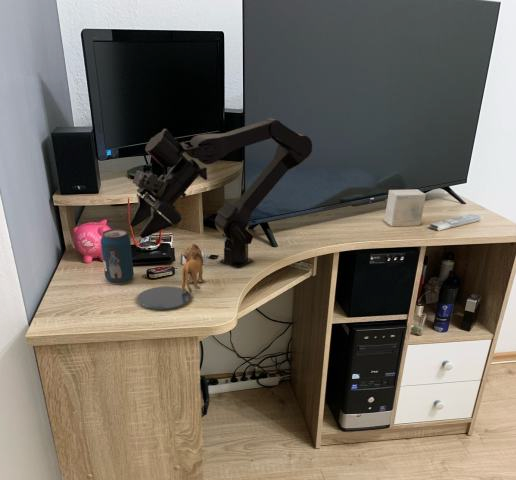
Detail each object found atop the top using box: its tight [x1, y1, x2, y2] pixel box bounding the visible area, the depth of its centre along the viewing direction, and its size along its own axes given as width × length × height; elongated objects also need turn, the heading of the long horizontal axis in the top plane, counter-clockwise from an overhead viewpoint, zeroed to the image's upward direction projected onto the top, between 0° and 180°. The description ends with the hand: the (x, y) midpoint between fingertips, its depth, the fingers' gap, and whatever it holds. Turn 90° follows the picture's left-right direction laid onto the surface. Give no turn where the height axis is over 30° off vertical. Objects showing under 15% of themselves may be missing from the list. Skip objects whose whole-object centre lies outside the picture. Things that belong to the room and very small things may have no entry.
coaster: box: [137, 285, 191, 312], centre depth 125 cm, size 12×12×1 cm
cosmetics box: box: [383, 188, 427, 227], centre depth 177 cm, size 10×6×10 cm, turn 101°
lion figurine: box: [180, 243, 205, 294], centre depth 129 cm, size 15×5×9 cm, turn 4°
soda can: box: [100, 228, 135, 285], centre depth 131 cm, size 7×7×12 cm
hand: (136, 231), depth 130 cm, fingers open, 9 cm apart
